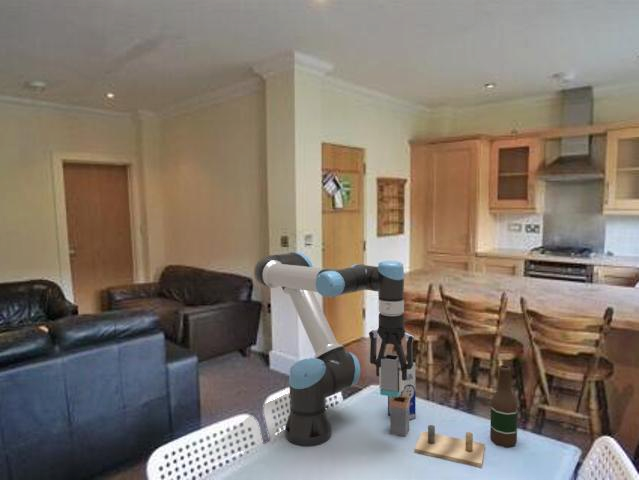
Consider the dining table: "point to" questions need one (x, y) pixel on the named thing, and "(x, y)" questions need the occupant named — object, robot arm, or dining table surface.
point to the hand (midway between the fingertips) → (391, 388)
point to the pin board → (450, 447)
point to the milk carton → (408, 391)
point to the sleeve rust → (399, 415)
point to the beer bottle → (504, 411)
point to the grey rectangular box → (390, 375)
